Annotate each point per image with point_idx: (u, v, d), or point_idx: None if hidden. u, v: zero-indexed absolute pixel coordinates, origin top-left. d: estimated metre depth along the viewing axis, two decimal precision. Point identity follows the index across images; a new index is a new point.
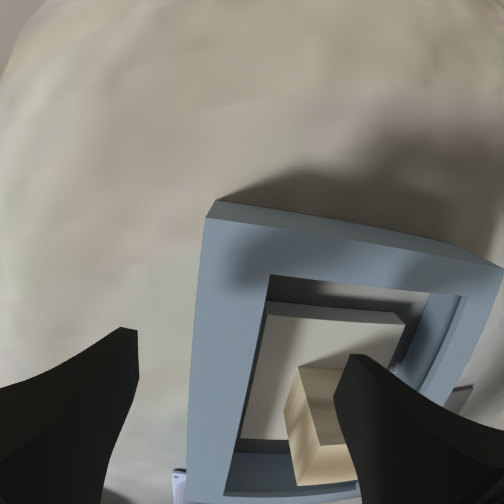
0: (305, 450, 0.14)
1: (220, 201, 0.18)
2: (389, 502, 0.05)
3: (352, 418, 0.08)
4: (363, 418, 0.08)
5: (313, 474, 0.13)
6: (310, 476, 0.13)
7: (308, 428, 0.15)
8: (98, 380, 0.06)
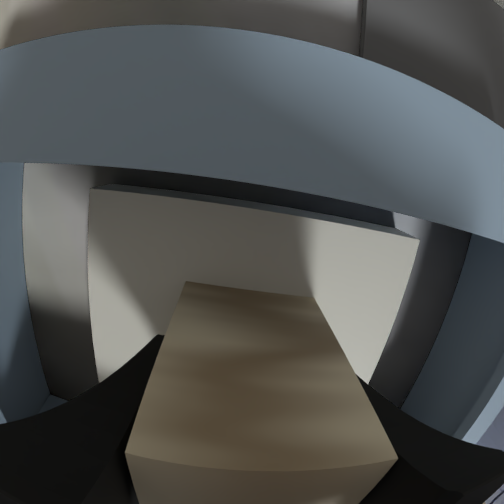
0: None
1: None
2: None
3: None
4: None
5: None
6: None
7: None
8: None
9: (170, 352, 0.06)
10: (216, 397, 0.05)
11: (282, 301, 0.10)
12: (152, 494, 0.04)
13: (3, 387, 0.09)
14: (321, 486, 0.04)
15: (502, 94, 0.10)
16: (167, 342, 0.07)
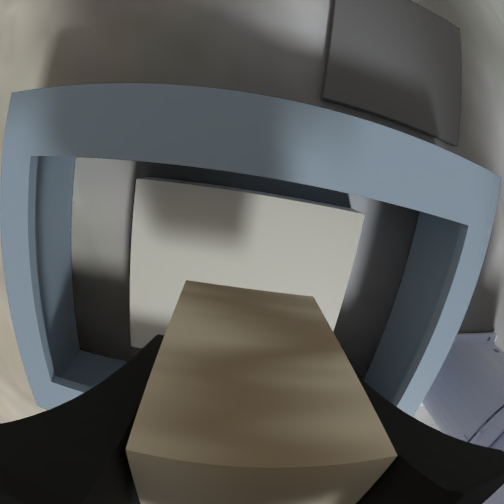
0: None
1: None
2: None
3: None
4: None
5: None
6: None
7: None
8: None
9: (170, 350, 0.06)
10: (217, 394, 0.05)
11: (281, 300, 0.10)
12: (152, 492, 0.04)
13: (48, 334, 0.14)
14: (320, 483, 0.04)
15: (447, 102, 0.15)
16: (167, 340, 0.07)
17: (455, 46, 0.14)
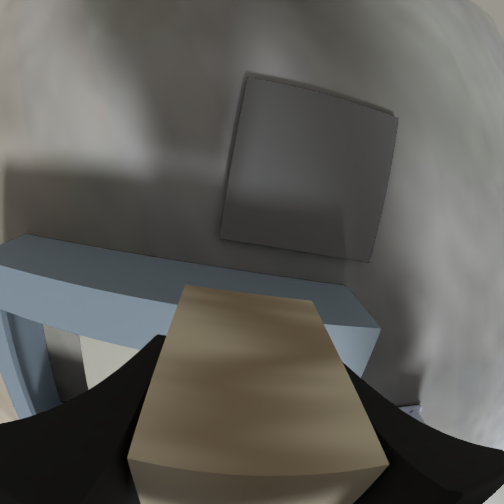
0: None
1: None
2: None
3: None
4: None
5: None
6: None
7: None
8: None
9: (170, 358, 0.06)
10: (214, 403, 0.05)
11: (280, 304, 0.10)
12: (153, 495, 0.04)
13: (35, 399, 0.18)
14: (314, 489, 0.04)
15: (361, 219, 0.18)
16: (167, 347, 0.07)
17: (387, 145, 0.17)
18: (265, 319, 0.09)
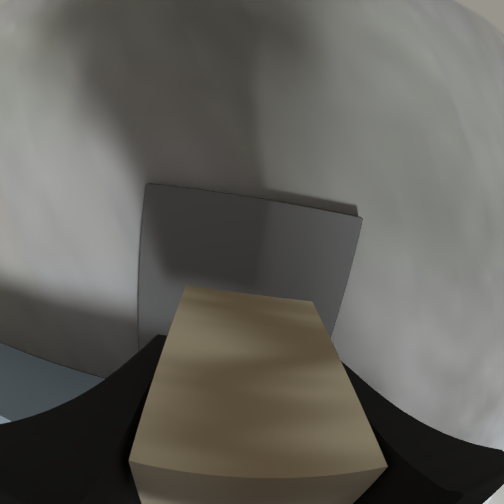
0: None
1: None
2: None
3: None
4: None
5: None
6: None
7: None
8: None
9: (170, 360, 0.06)
10: (215, 405, 0.05)
11: (280, 305, 0.10)
12: (154, 497, 0.04)
13: None
14: (313, 490, 0.04)
15: None
16: (167, 350, 0.07)
17: (343, 259, 0.14)
18: (265, 320, 0.09)
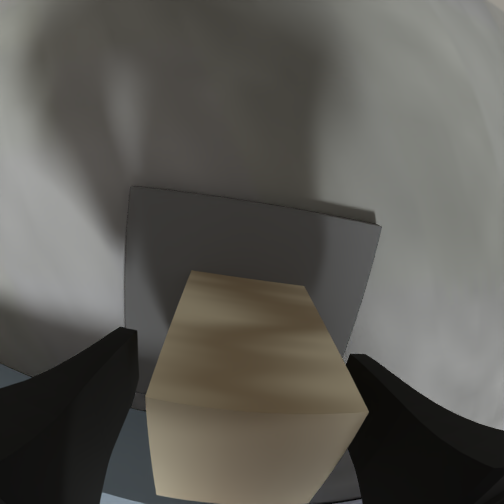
0: None
1: None
2: (389, 502, 0.05)
3: None
4: None
5: (266, 497, 0.06)
6: (272, 498, 0.06)
7: None
8: (98, 380, 0.06)
9: (180, 324, 0.08)
10: (219, 358, 0.07)
11: (275, 288, 0.11)
12: (163, 442, 0.05)
13: None
14: (304, 433, 0.05)
15: None
16: (177, 317, 0.08)
17: (358, 274, 0.12)
18: (262, 298, 0.10)
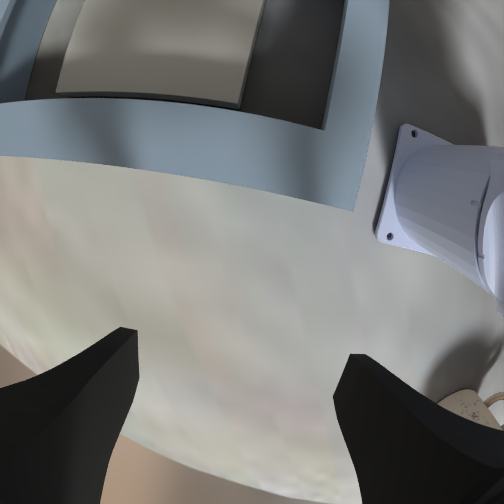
0: None
1: None
2: (389, 502, 0.05)
3: (352, 418, 0.08)
4: (363, 418, 0.08)
5: None
6: None
7: None
8: (98, 380, 0.06)
9: None
10: None
11: None
12: None
13: None
14: None
15: None
16: None
17: None
18: None
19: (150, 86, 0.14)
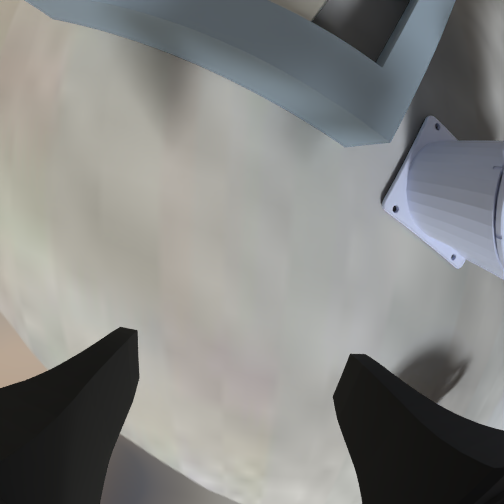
0: None
1: None
2: (389, 502, 0.05)
3: (352, 418, 0.08)
4: (363, 418, 0.08)
5: None
6: None
7: None
8: (98, 380, 0.06)
9: None
10: None
11: None
12: None
13: None
14: None
15: None
16: None
17: None
18: None
19: None
